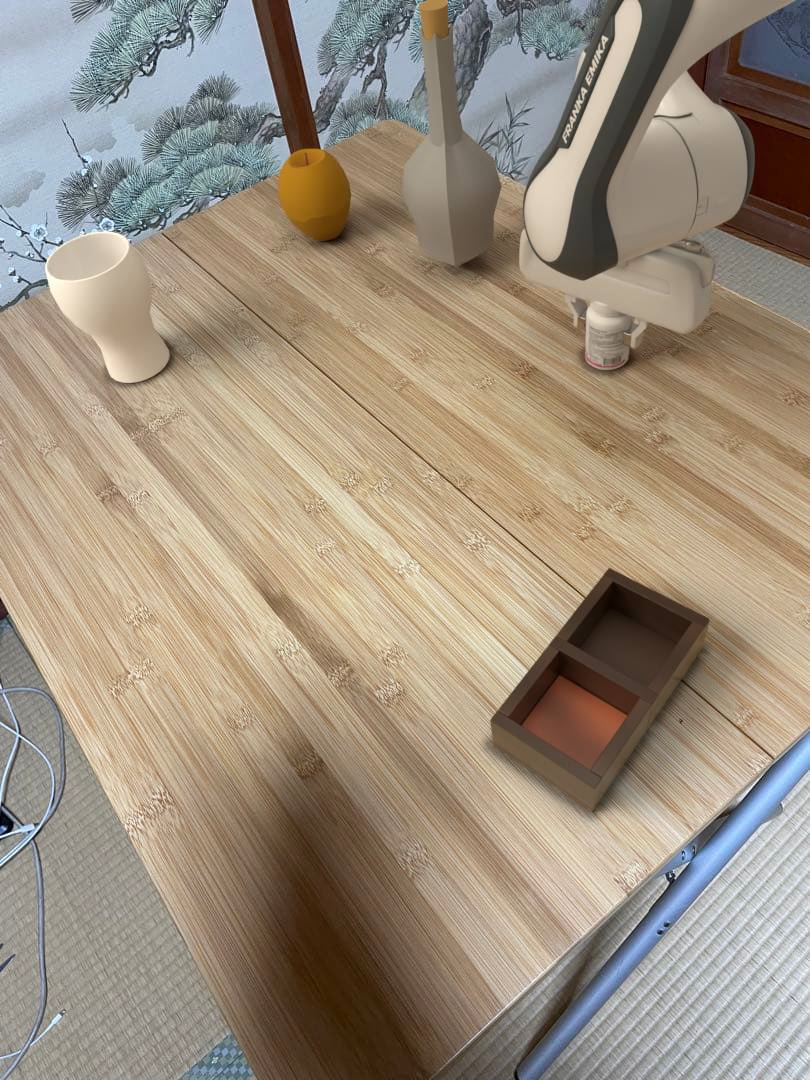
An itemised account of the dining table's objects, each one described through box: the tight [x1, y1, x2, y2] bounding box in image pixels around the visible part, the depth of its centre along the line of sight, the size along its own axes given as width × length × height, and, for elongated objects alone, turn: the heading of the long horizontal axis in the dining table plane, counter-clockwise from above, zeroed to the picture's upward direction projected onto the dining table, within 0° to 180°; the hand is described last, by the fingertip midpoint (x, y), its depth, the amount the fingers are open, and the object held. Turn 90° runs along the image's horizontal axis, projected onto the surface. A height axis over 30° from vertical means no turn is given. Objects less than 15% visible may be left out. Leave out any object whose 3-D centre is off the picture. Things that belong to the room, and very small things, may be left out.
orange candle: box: [277, 148, 352, 242], centre depth 111 cm, size 10×10×12 cm
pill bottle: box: [584, 301, 633, 371], centre depth 89 cm, size 5×5×8 cm
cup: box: [44, 231, 171, 384], centre depth 97 cm, size 11×11×15 cm
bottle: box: [401, 0, 503, 269], centre depth 95 cm, size 11×11×30 cm
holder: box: [489, 567, 711, 813], centre depth 66 cm, size 17×9×5 cm, turn 141°
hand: (607, 334), depth 90 cm, fingers closed on pill bottle, 4 cm apart
